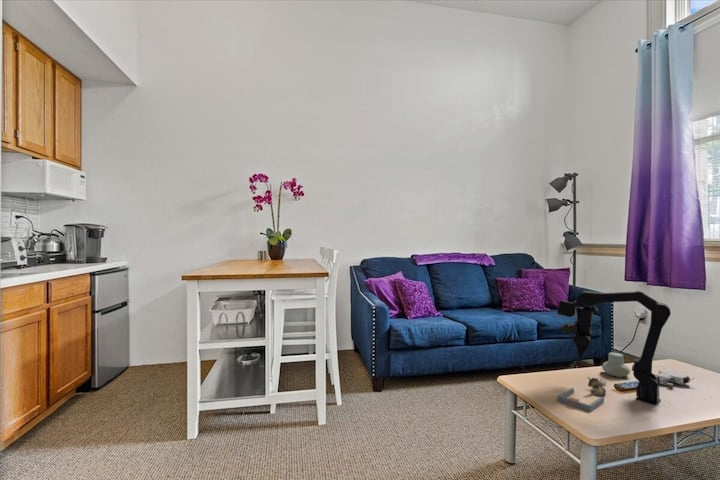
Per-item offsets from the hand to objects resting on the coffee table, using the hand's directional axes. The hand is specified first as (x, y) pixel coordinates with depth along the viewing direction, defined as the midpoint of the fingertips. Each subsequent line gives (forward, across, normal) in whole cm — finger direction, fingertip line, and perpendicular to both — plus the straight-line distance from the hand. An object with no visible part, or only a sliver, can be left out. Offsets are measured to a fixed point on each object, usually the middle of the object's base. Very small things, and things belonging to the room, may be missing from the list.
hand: (580, 354), depth 161 cm
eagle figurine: (+13, +5, +7) cm, 16 cm away
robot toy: (+11, -27, +34) cm, 45 cm away
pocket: (+13, +19, +2) cm, 23 cm away
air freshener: (+13, -25, +14) cm, 31 cm away
